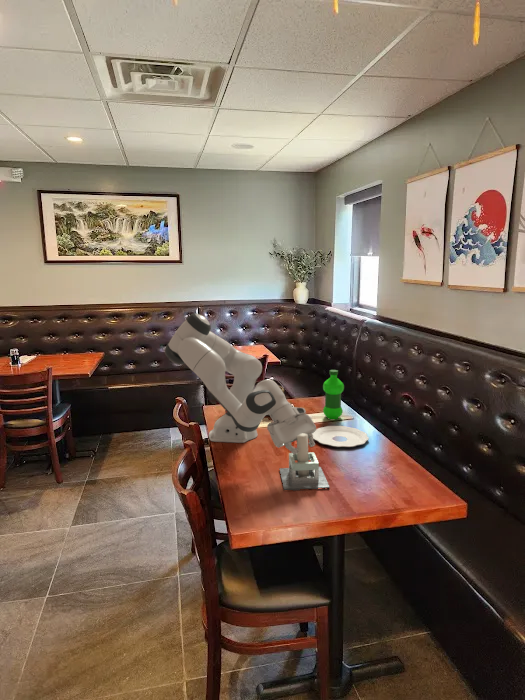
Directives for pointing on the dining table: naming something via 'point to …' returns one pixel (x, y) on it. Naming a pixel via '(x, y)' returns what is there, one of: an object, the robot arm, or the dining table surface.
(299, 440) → the cream tall rounded cylinder
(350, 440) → the plate
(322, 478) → the collar holder
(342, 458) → the dining table surface
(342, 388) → the plastic bottle
